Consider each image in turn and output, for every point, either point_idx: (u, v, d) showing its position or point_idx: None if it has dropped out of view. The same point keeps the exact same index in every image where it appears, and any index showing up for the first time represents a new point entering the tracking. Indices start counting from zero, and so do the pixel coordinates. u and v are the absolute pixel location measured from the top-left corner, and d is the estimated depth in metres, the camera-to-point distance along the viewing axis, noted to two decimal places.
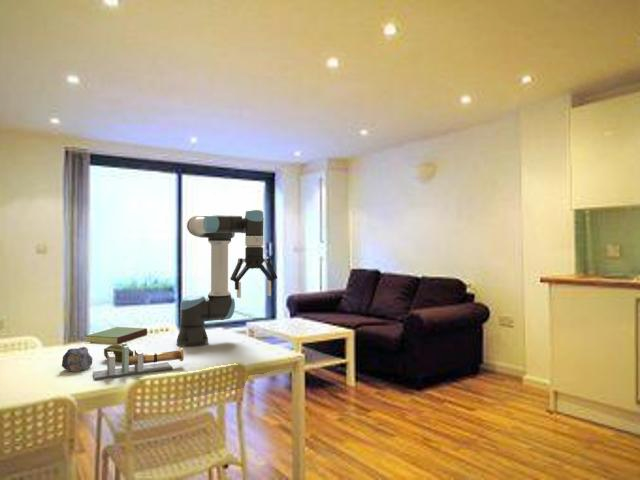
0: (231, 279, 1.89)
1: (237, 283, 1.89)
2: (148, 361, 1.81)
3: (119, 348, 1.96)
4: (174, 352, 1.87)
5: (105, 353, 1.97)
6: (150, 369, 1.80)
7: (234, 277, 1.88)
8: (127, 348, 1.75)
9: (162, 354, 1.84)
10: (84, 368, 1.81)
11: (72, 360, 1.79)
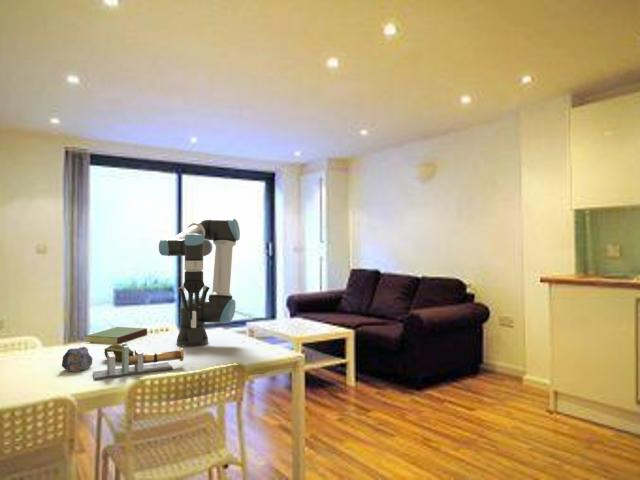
0: (185, 310, 1.89)
1: (191, 313, 1.90)
2: (148, 361, 1.81)
3: (119, 348, 1.96)
4: (174, 352, 1.87)
5: (105, 353, 1.98)
6: (150, 369, 1.80)
7: (186, 307, 1.88)
8: (127, 348, 1.75)
9: (162, 354, 1.84)
10: (84, 368, 1.81)
11: (72, 360, 1.79)
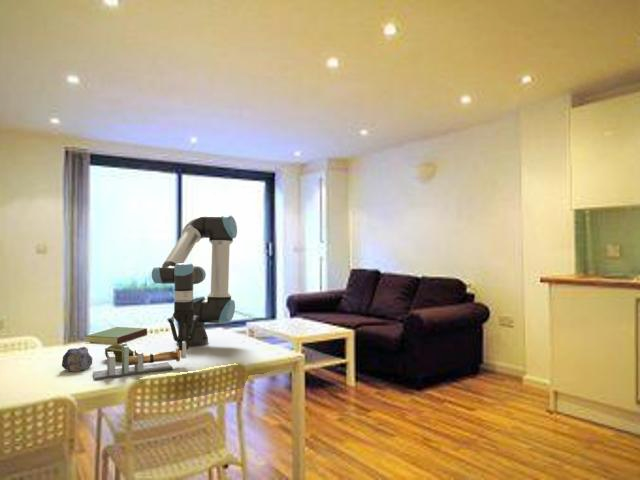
0: (175, 340, 1.87)
1: (181, 343, 1.88)
2: (144, 361, 1.80)
3: (119, 348, 1.96)
4: (170, 352, 1.86)
5: (106, 353, 1.98)
6: (150, 369, 1.80)
7: (176, 338, 1.86)
8: (127, 348, 1.75)
9: (158, 354, 1.83)
10: (84, 368, 1.81)
11: (72, 360, 1.79)
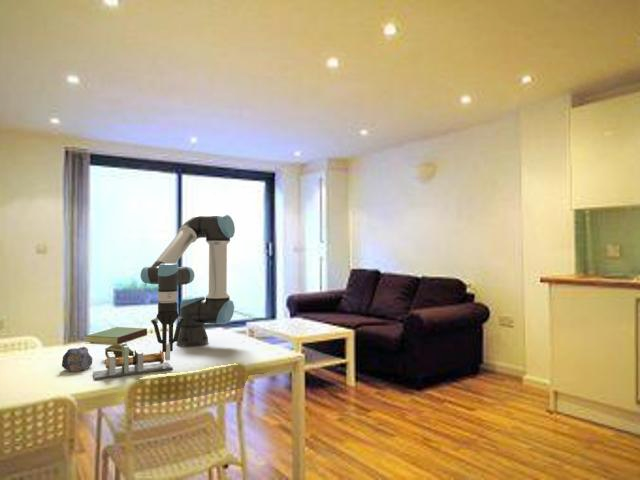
0: None
1: (164, 345, 1.85)
2: None
3: (120, 348, 1.96)
4: (154, 354, 1.83)
5: (106, 353, 1.98)
6: (150, 369, 1.80)
7: (159, 339, 1.83)
8: (127, 348, 1.75)
9: None
10: (84, 368, 1.81)
11: (72, 360, 1.79)
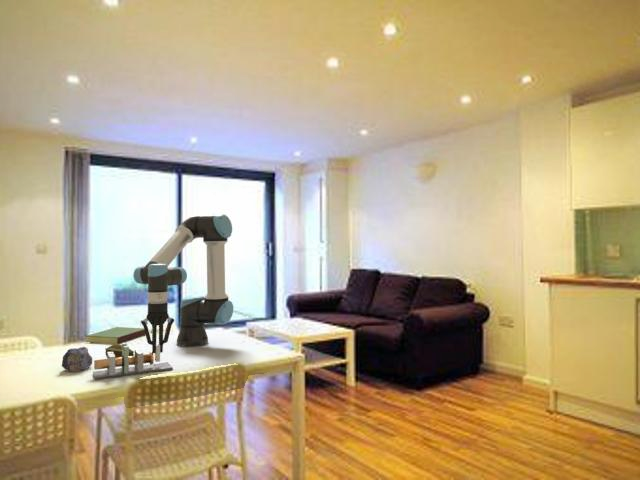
0: (148, 343, 1.82)
1: (154, 346, 1.83)
2: (116, 365, 1.75)
3: (120, 348, 1.96)
4: (144, 356, 1.81)
5: (106, 353, 1.98)
6: (150, 369, 1.80)
7: (149, 340, 1.81)
8: (127, 348, 1.75)
9: (131, 358, 1.78)
10: (84, 368, 1.81)
11: (72, 360, 1.79)
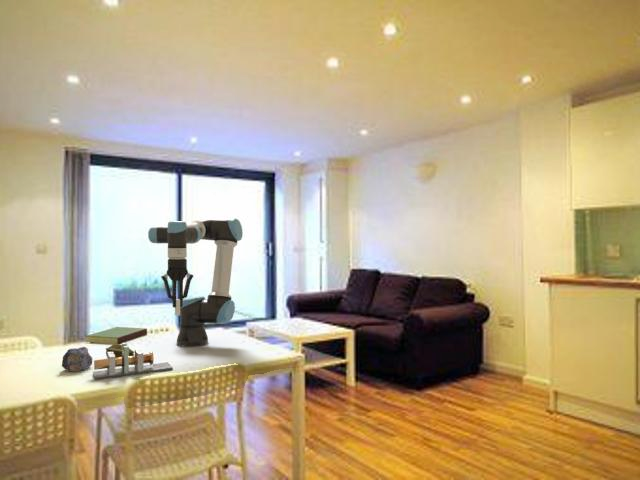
0: None
1: (174, 301, 1.89)
2: (116, 365, 1.75)
3: (120, 348, 1.96)
4: (143, 356, 1.81)
5: None
6: (150, 369, 1.80)
7: (169, 295, 1.87)
8: (127, 348, 1.75)
9: (131, 358, 1.78)
10: (84, 368, 1.81)
11: (72, 360, 1.79)
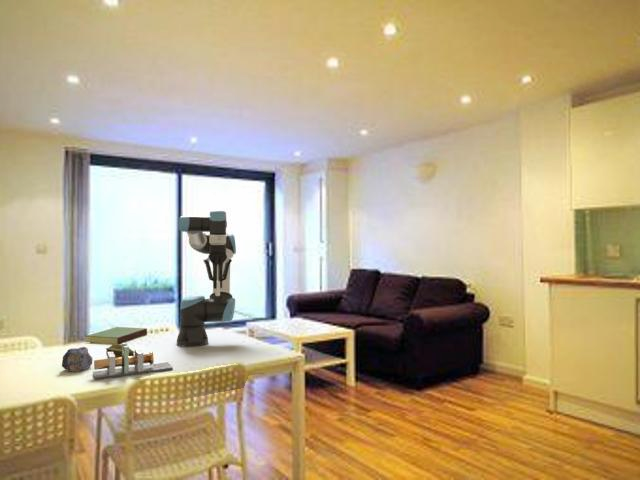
0: (210, 279, 2.09)
1: (215, 282, 2.09)
2: (116, 365, 1.75)
3: (120, 348, 1.96)
4: (143, 356, 1.81)
5: None
6: (150, 369, 1.80)
7: (211, 277, 2.08)
8: (127, 348, 1.75)
9: (131, 358, 1.78)
10: (84, 368, 1.81)
11: (72, 360, 1.79)
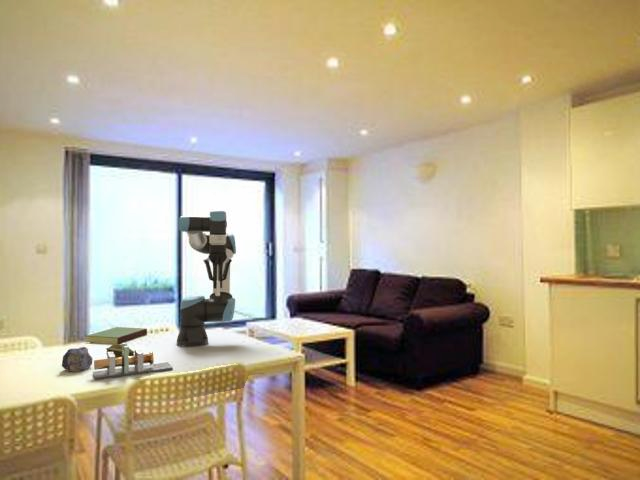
0: (210, 279, 2.09)
1: (215, 282, 2.09)
2: (116, 365, 1.75)
3: (120, 348, 1.96)
4: (143, 356, 1.81)
5: None
6: (150, 369, 1.80)
7: (211, 277, 2.08)
8: (127, 348, 1.75)
9: (131, 358, 1.78)
10: (84, 368, 1.81)
11: (72, 360, 1.79)
